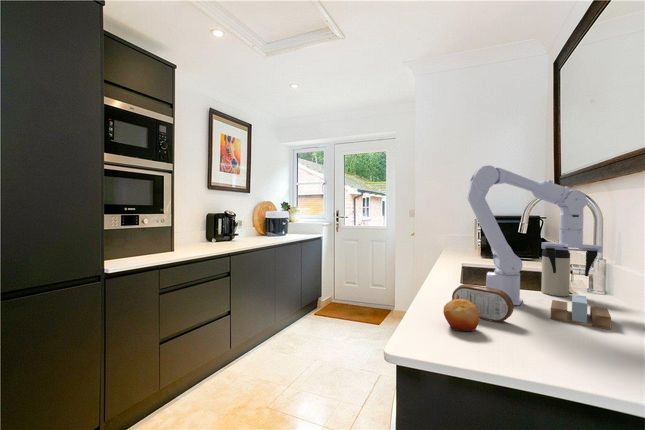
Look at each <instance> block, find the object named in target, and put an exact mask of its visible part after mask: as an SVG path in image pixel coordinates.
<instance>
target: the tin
mask: <svg viewBox="0 0 645 430" xmlns="http://www.w3.org/2000/svg"><path fill="white" fill-rule="evenodd" d="M454 299H467V300H468V301H470V302H471V303H473V304H474V305H476V306H477V308H478V311H479V313H480V318H479V319H482V320H486V321H490V322H494V323H495V322H496V323H500V322H501V323H502V322H504V321H506V320H507V319H508V318H510V317H511V316H512V315H513V313H514V309H515V308H514V305H513V302H512V300H511V298H510V297H509V296H508V295H507V294H506V293H505V292H503V291H501V290H499V289H494V288H488V287H486V286H481V285H476V284H470V283H465V284H461V285H459V286H458V287H457V288H455V289H454V290H453V293H452V295H451V300H454Z"/></svg>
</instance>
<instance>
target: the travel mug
mask: <svg viewBox="0 0 645 430" xmlns="http://www.w3.org/2000/svg"><path fill="white" fill-rule="evenodd" d="M545 242H546V243H559V241H558V242H557V241H556V242H553V241H551V242H550V241H545ZM563 248H568V249H569V247H563ZM541 257H542V258H541V286H540V287H541V290H540V291H541V292H542V293H543V294H545V293H546V294H545V295H548V294H550V295H549V296H552V295H554V297H562V296H563V297H569V296H570V287H571V286H570V283H571V282H570V280H571V279H570V278H571V277H570V274H571V253H570V250H557V249H556V273H553V268H552V265H551V262H550V259H549V257H548V255H547V253H546V249H542V252H541Z"/></svg>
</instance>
